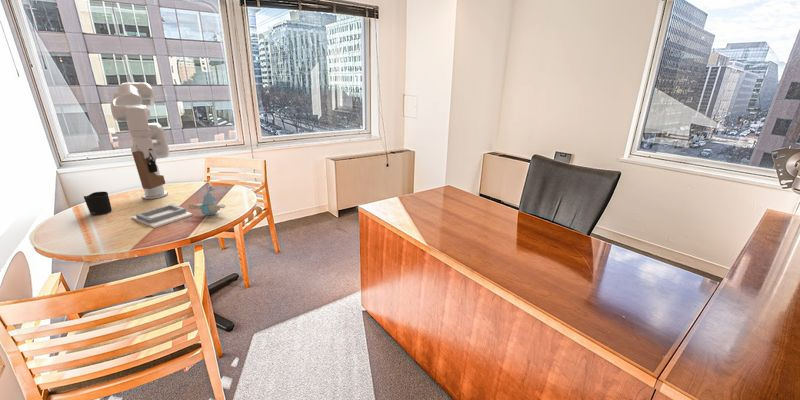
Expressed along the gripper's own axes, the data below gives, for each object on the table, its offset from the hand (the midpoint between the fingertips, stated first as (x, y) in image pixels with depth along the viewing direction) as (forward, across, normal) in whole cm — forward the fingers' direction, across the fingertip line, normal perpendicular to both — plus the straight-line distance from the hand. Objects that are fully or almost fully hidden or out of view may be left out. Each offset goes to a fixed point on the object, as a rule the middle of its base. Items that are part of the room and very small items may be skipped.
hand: (150, 170), depth 162 cm
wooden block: (+8, 0, 0) cm, 8 cm away
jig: (+24, 0, 0) cm, 24 cm away
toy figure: (+25, +18, +15) cm, 34 cm away
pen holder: (+25, -34, -13) cm, 44 cm away
